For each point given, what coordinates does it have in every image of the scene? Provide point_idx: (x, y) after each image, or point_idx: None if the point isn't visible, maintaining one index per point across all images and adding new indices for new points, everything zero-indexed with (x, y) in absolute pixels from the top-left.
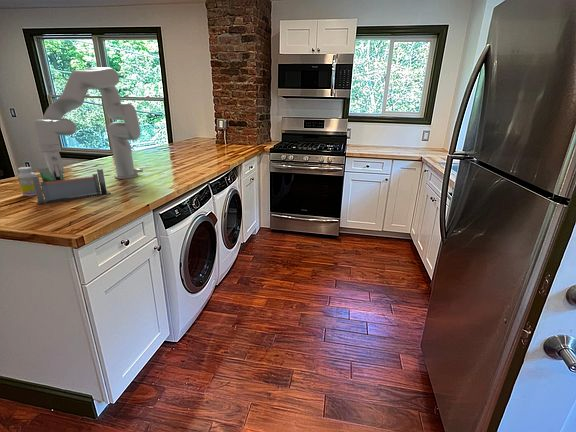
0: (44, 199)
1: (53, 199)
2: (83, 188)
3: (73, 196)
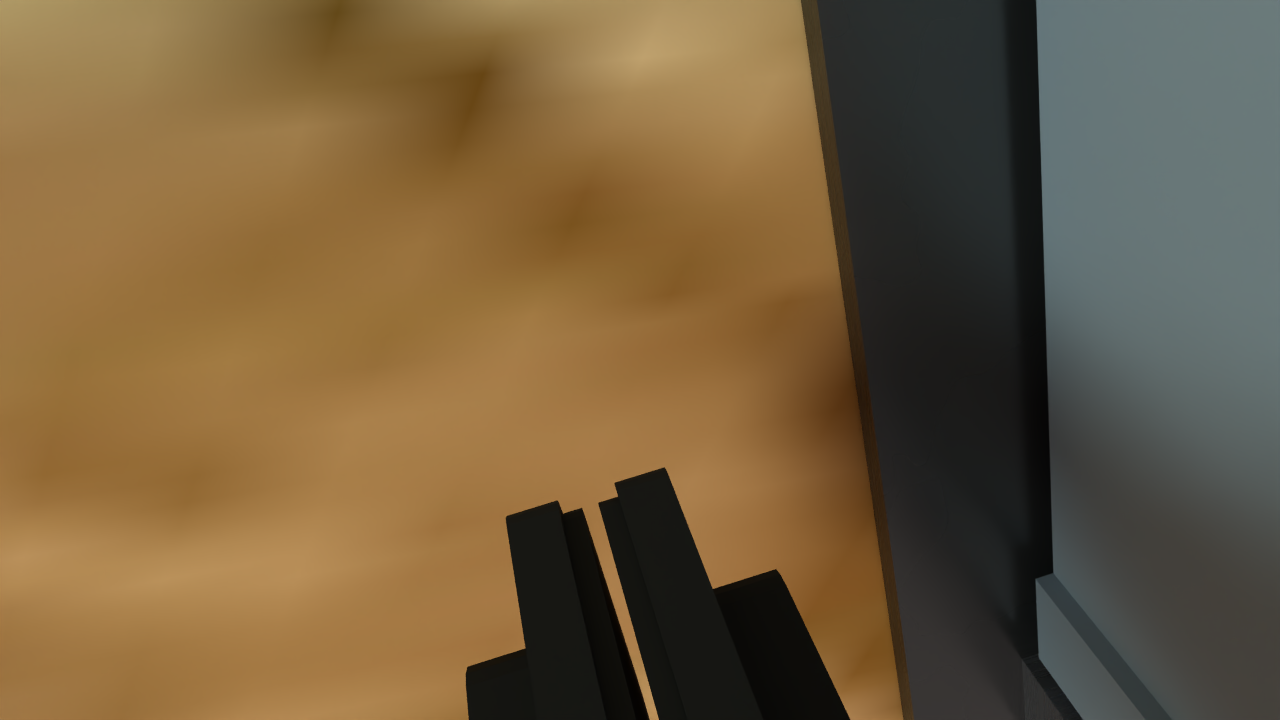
0: (914, 677)
1: (1031, 500)
2: None
3: (1010, 3)
